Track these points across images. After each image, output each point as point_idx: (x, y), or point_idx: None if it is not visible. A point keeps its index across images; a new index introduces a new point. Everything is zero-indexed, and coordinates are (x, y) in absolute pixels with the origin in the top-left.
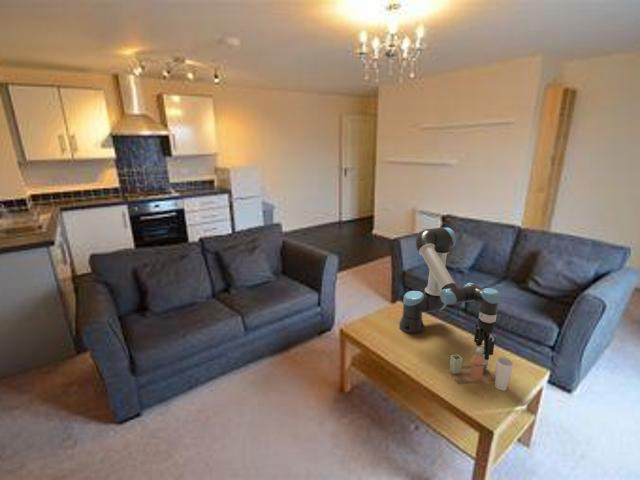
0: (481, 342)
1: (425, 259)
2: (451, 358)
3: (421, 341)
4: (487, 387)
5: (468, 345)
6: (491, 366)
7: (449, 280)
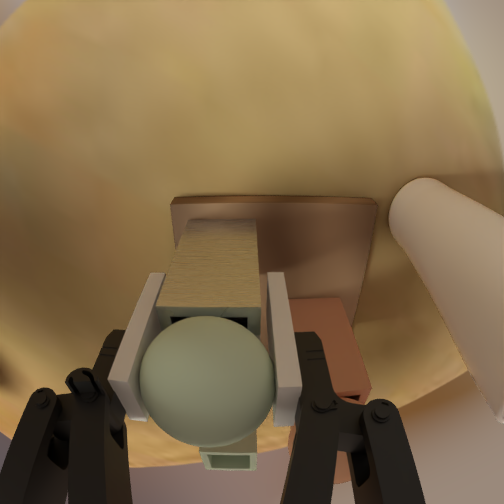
0: (109, 444)
1: None
2: (216, 456)
3: (16, 372)
4: (385, 279)
5: None
6: (182, 120)
7: None
